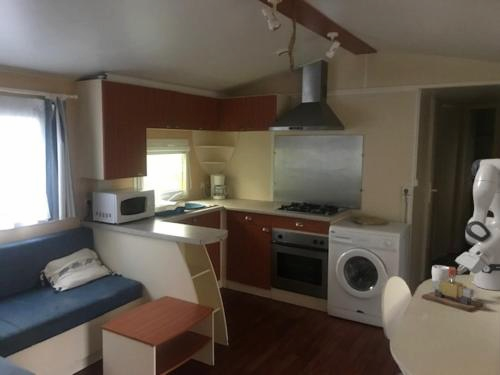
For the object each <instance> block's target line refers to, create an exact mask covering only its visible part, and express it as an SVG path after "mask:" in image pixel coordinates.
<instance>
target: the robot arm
mask: <svg viewBox="0 0 500 375" xmlns="http://www.w3.org/2000/svg"><path fill="white" fill-rule="evenodd" d="M471 174H472V175H473V176H474V177H475V178H474V181H473V185H472V197H473V204H474V206H473V207H474V208H473V209H474V210H473V215H472V217H471V218H470V219H469V220H468V221H467V224H466V226H465V236H464V237H465V238H464V239H465V242H467V244H468V245H470V246H472V247H471V248H470V249H469V250H468V251H464V252H463V253H461V254H460V255H459V256H457V257H456V259H455V260H454V262H455V263H457V265H459V266H458V267H457V269H456V274H457V275H462V274H464V273H465V272H467V271H469V272H471V273H472V274H474V279H473V280H471V284H473V285H475V286H476V287H478V288H481V289H485V290H491V291H500V158H486V159H482V158H481V159H476V160H475V161H474V162H473V163H472V164H471ZM489 211H490V212H492V213H493V217H490V216H488V213H489Z"/></svg>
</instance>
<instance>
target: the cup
mask: <svg viewBox="0 0 500 375" xmlns="http://www.w3.org/2000/svg"><path fill="white" fill-rule="evenodd" d="M449 267H450V266H446V265H440V264H435V265H432V267H431V276H432V277H431V279H432V282H433V281H435V280H438V281H447V280H450V278H449Z"/></svg>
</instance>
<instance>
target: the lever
mask: <svg viewBox="0 0 500 375" xmlns="http://www.w3.org/2000/svg"><path fill="white" fill-rule="evenodd" d="M448 267H449V279H450V280H451V282H453V283H454V282H456V277H457V276H456V274H457V273H456V270H457V269H456V266H455V267H454V266H448Z"/></svg>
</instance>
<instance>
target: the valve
mask: <svg viewBox="0 0 500 375" xmlns="http://www.w3.org/2000/svg"><path fill="white" fill-rule="evenodd" d="M432 289H434V291H435V297H439V298H442V297H445V295H448V296H452V297H455V298H457V297H461V300H460V303H461V304H464V305H469V304H471V300H472V298H473V297H474V288H470V287H467V285H464V283H462V282H459V281H455V282H454V283H453V282H451V279H449V280H447V281H438V280H435V281H433V280H432Z"/></svg>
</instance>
